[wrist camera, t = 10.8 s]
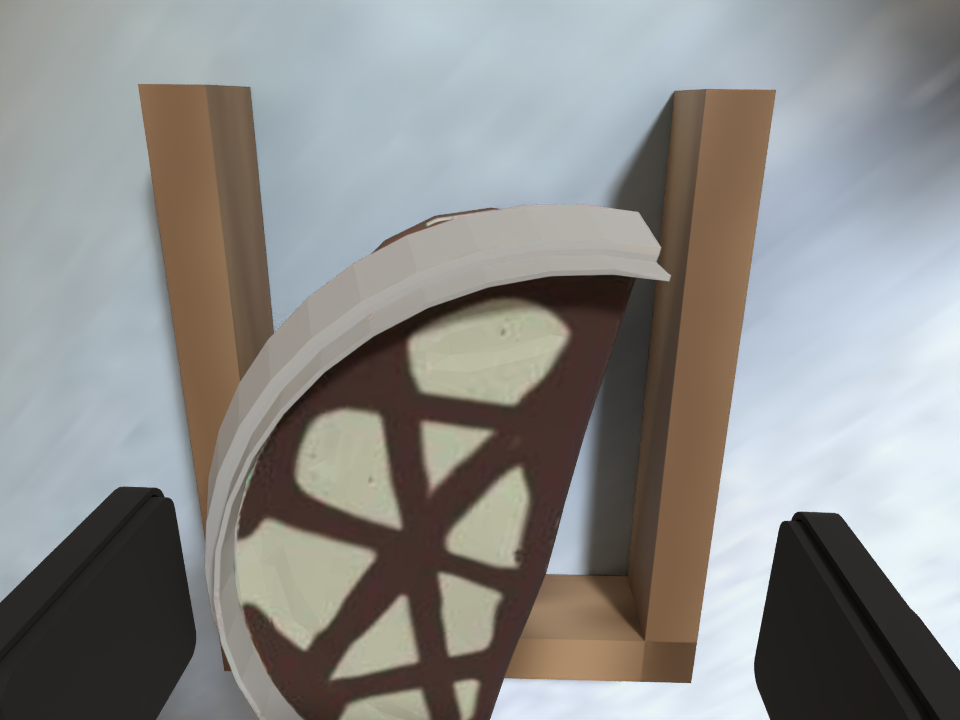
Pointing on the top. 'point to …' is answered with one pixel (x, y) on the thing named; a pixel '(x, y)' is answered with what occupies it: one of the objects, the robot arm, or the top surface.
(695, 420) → the bay
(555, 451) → the food container
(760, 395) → the top surface
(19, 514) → the top surface
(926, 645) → the robot arm
